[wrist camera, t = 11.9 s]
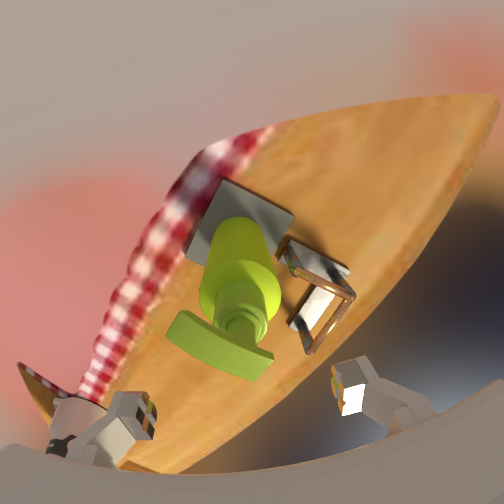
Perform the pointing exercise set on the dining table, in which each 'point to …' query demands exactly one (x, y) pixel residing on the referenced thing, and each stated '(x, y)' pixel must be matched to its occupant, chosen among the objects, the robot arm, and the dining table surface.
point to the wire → (316, 291)
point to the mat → (238, 205)
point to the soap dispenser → (232, 303)
